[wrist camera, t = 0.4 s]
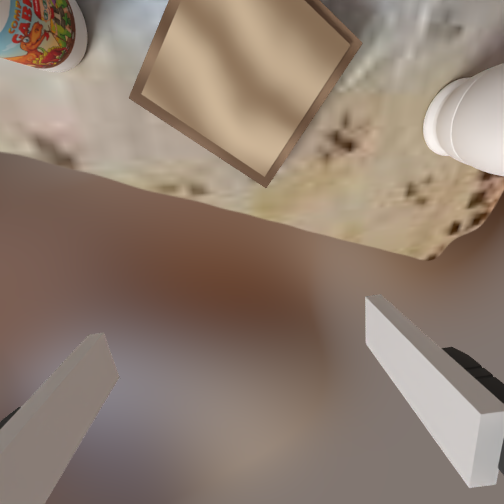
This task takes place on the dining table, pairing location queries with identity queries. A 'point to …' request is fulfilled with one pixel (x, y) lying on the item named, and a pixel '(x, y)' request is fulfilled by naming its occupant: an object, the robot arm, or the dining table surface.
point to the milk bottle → (42, 33)
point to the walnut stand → (244, 75)
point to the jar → (470, 121)
